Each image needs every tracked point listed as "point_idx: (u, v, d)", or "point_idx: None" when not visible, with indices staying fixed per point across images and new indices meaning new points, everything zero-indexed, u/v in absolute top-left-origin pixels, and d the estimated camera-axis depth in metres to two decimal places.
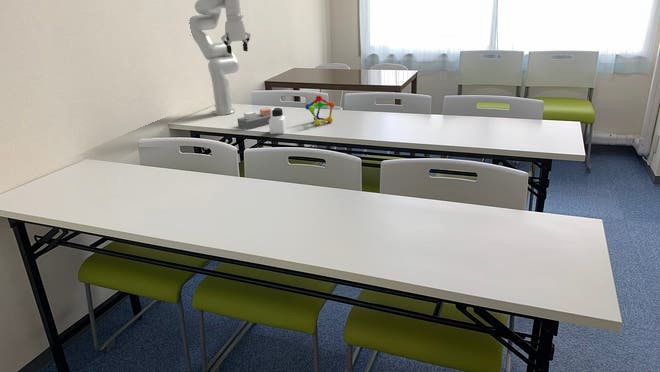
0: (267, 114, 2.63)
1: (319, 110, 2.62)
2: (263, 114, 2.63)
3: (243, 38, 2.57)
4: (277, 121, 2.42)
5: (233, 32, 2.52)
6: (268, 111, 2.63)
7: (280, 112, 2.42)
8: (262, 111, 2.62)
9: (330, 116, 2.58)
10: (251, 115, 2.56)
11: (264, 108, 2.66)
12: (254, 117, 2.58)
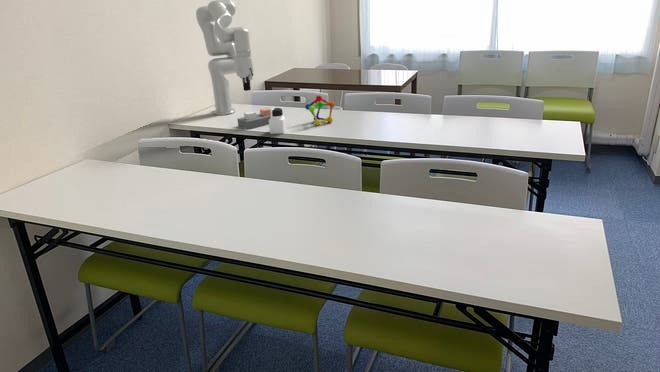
0: (267, 114, 2.63)
1: (319, 110, 2.62)
2: (263, 114, 2.63)
3: None
4: (277, 121, 2.42)
5: None
6: (268, 111, 2.63)
7: (280, 112, 2.42)
8: (262, 111, 2.62)
9: (330, 116, 2.58)
10: (251, 115, 2.56)
11: (264, 108, 2.66)
12: (254, 117, 2.58)
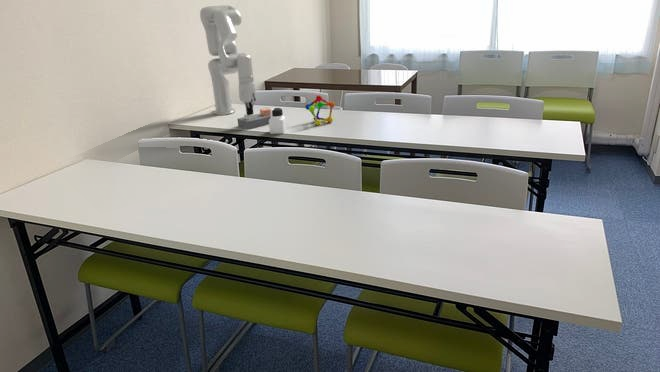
0: (267, 114, 2.63)
1: (319, 110, 2.63)
2: (263, 114, 2.63)
3: None
4: (277, 121, 2.42)
5: None
6: (268, 111, 2.63)
7: (280, 112, 2.42)
8: (262, 111, 2.62)
9: (330, 116, 2.58)
10: (251, 117, 2.57)
11: (264, 108, 2.66)
12: None
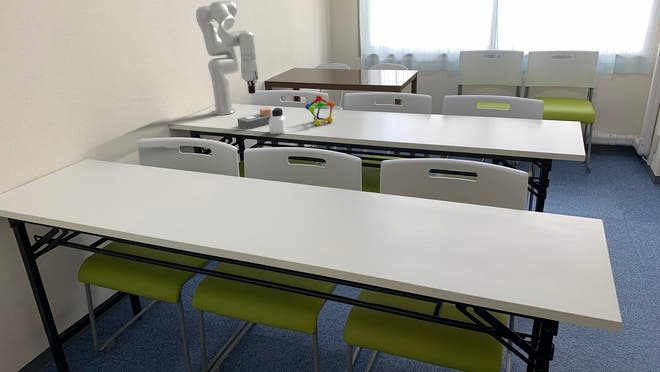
0: (267, 114, 2.63)
1: (319, 110, 2.63)
2: (263, 114, 2.63)
3: None
4: (277, 121, 2.42)
5: None
6: (268, 111, 2.63)
7: (280, 112, 2.42)
8: (262, 111, 2.62)
9: (330, 116, 2.58)
10: None
11: (264, 108, 2.66)
12: None
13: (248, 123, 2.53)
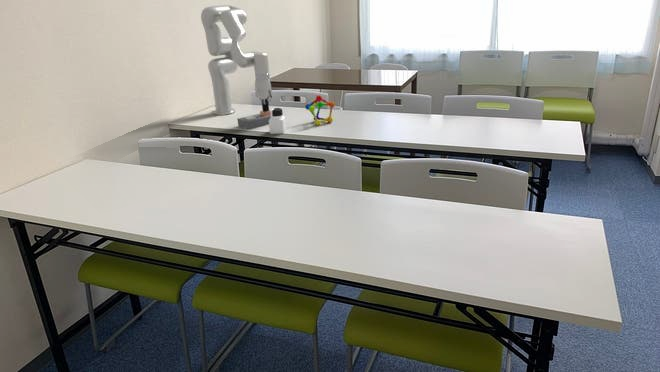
0: None
1: (319, 110, 2.62)
2: None
3: None
4: (277, 121, 2.42)
5: None
6: (268, 113, 2.63)
7: (280, 112, 2.42)
8: (262, 113, 2.63)
9: (330, 116, 2.58)
10: None
11: None
12: None
13: (248, 123, 2.53)
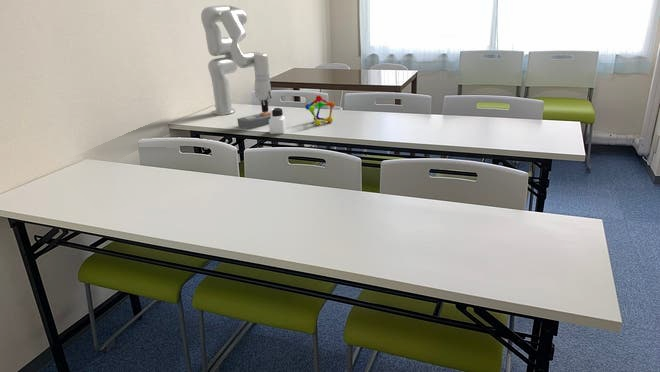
0: None
1: (319, 110, 2.63)
2: None
3: None
4: (277, 121, 2.42)
5: None
6: (268, 114, 2.63)
7: (280, 112, 2.42)
8: (262, 114, 2.63)
9: (330, 116, 2.58)
10: None
11: None
12: None
13: (248, 123, 2.53)
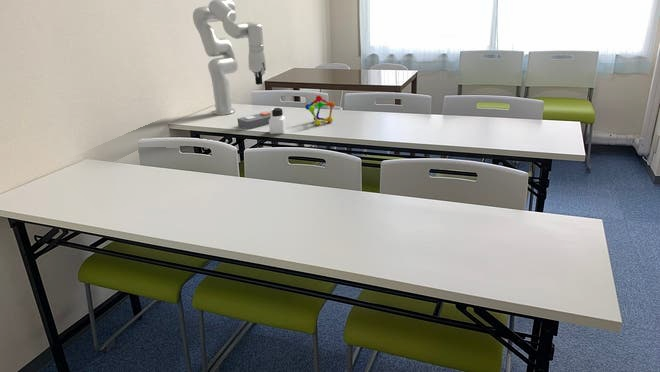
0: None
1: (319, 110, 2.63)
2: None
3: None
4: (277, 121, 2.42)
5: None
6: (268, 114, 2.63)
7: (280, 112, 2.42)
8: (262, 114, 2.63)
9: (330, 116, 2.58)
10: None
11: None
12: None
13: (248, 123, 2.53)
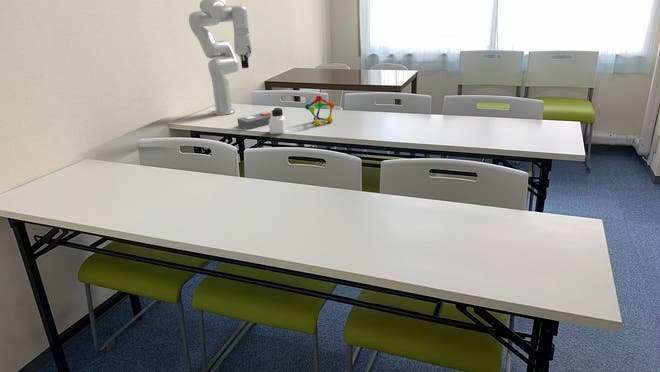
0: None
1: (319, 110, 2.63)
2: None
3: None
4: (277, 121, 2.42)
5: None
6: (268, 114, 2.63)
7: (280, 112, 2.42)
8: (262, 114, 2.63)
9: (330, 116, 2.58)
10: None
11: None
12: None
13: (248, 123, 2.53)
